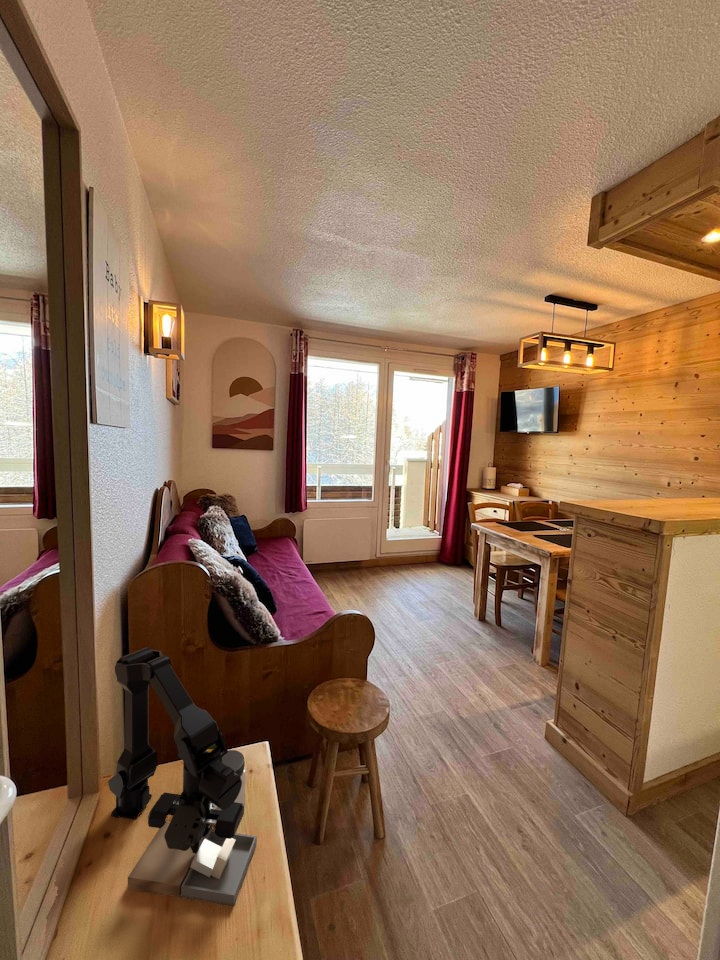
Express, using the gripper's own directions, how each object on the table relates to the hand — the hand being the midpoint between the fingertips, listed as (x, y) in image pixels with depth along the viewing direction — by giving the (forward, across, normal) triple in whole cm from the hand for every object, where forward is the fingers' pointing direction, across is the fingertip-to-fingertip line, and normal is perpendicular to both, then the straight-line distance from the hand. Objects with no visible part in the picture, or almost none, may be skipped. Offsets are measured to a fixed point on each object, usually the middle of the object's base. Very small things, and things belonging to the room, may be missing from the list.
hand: (195, 851), depth 83 cm
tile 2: (0, +5, 0) cm, 5 cm away
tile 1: (+2, +2, 0) cm, 3 cm away
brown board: (+3, -6, 0) cm, 6 cm away
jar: (+4, 0, +14) cm, 14 cm away
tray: (+3, +6, 0) cm, 7 cm away
